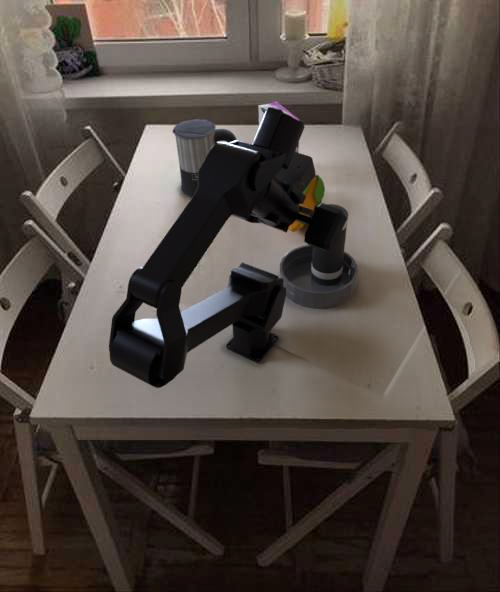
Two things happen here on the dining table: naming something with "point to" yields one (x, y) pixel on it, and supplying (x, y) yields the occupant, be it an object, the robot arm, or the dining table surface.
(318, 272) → the canister
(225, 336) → the dining table surface
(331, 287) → the pan
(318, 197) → the corn
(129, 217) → the dining table surface
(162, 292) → the robot arm
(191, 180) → the milk frother
